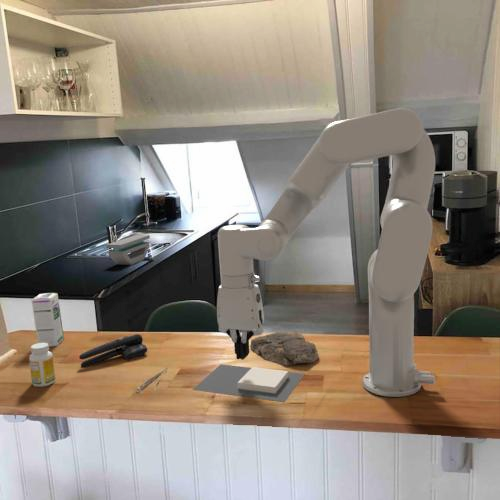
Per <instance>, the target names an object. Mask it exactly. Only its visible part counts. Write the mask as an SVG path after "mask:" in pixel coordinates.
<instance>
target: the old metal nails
mask: <svg viewBox="0 0 500 500" xmlns="http://www.w3.org/2000/svg"><path fill="white" fill-rule="evenodd" d="M169 369H170V368H168V367H166V368H165V369H163V370H162V371H160V372H157V374H155V375H152V376H151V377H150V378H148V379H146V380H145V381H144V382H143V383H142V384H141V385H139V386H138V387H137V388H136V391H135V392H136V393H137V394H140V393H141V392H142V390H143V389H145V388H146V387H147V386H149V385H150V384H151V383H152V382H153V381H155V379H157V378H158V377H159V376H160V375H161V376H160V378H159V379H158V380H157V382H156V383H155V385H154V388H153V389H152V390H155V391H156V390H157V385H158V383H159V382H160V381H161V379H162V377H163V375H165V374H166V373H167V372H168V370H169Z"/></svg>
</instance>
